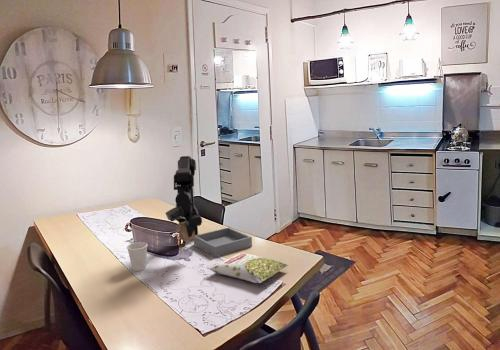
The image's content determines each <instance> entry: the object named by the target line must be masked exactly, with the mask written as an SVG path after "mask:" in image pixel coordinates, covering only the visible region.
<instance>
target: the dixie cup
mask: <svg viewBox="0 0 500 350" xmlns="http://www.w3.org/2000/svg"><path fill="white" fill-rule="evenodd" d="M126 249H127V252H128V257H129V261H130V264H131V270H132V271H134V272H140V271H144V270H146V269H147V255H148V253H147V252H148V243H147V242H143V241H138V242H132V243H130V244H128V245H127V246H126Z"/></svg>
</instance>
